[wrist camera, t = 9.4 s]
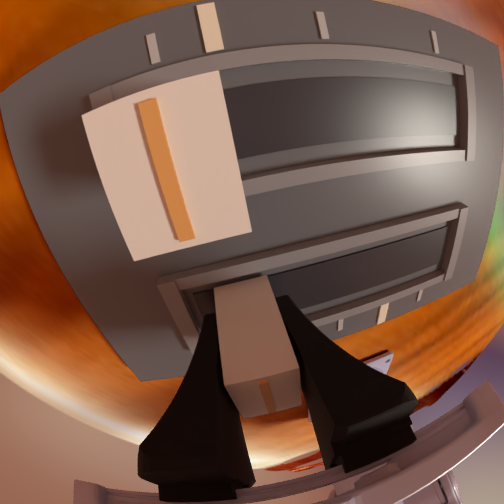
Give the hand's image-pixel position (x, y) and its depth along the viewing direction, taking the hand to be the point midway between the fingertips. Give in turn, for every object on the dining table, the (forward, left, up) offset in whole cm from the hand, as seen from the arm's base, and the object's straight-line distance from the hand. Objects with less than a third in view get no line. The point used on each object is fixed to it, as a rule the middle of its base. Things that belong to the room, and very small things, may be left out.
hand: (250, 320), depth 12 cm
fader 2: (0, 0, -1) cm, 1 cm away
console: (+4, -5, -2) cm, 7 cm away
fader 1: (+8, +1, -1) cm, 8 cm away
